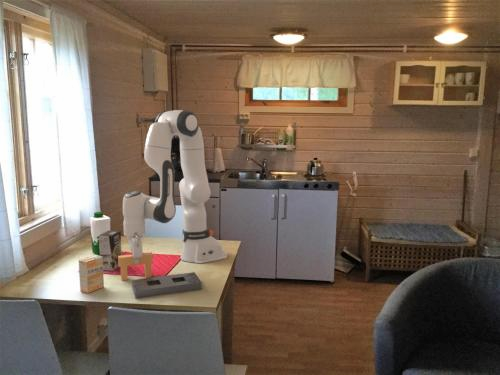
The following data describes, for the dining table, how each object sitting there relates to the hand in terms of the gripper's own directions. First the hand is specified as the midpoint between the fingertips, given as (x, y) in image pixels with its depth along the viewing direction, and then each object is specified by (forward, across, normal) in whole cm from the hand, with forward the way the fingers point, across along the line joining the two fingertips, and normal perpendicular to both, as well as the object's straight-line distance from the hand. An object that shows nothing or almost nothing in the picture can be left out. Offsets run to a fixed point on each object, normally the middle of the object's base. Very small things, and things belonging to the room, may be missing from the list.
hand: (135, 261), depth 195 cm
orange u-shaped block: (+7, 0, 0) cm, 7 cm away
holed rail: (+7, -16, -10) cm, 20 cm away
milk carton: (+7, +40, +12) cm, 42 cm away
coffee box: (+7, +17, +9) cm, 21 cm away
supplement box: (+7, -7, +18) cm, 21 cm away
